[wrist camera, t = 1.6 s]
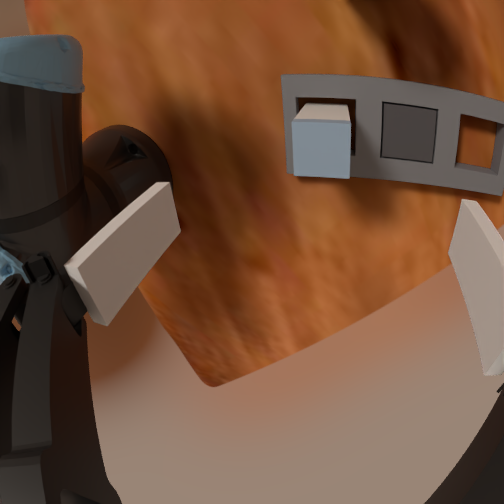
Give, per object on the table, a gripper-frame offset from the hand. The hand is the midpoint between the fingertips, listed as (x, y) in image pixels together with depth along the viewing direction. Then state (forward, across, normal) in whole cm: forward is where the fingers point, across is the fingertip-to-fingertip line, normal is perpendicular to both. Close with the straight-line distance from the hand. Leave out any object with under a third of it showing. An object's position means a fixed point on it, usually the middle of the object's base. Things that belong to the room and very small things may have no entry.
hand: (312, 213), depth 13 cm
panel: (+19, +8, 0) cm, 21 cm away
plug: (+19, 0, 0) cm, 19 cm away
